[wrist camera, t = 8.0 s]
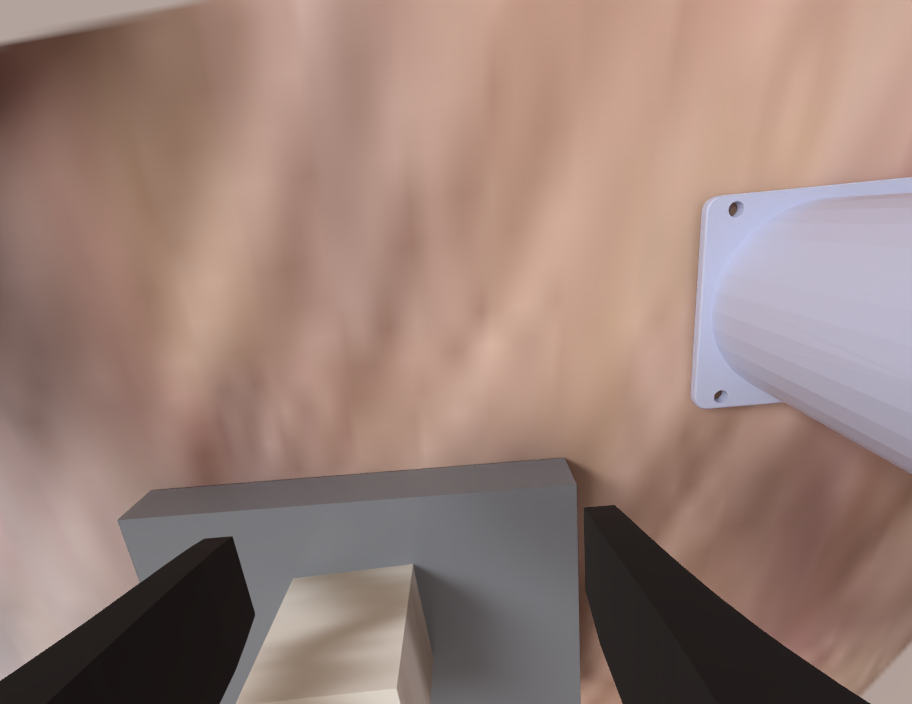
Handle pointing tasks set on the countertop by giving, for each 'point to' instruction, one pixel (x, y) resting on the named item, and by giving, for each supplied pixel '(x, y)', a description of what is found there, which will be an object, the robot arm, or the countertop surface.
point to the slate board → (407, 562)
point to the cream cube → (346, 642)
